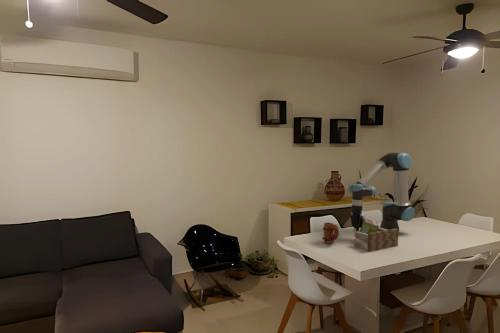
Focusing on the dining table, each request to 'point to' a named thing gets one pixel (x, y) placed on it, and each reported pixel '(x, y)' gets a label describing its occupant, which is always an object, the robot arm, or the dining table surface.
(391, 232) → the patterned planter box
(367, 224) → the tea box
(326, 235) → the reddish-brown rounded piece
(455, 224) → the dining table surface
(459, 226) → the dining table surface
